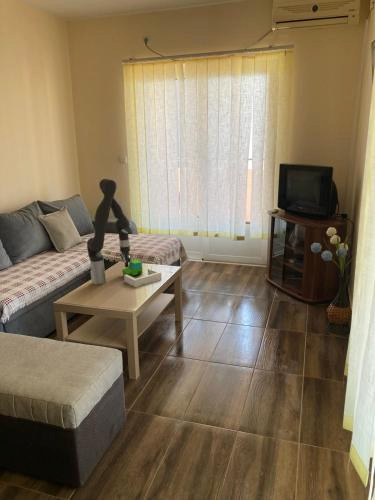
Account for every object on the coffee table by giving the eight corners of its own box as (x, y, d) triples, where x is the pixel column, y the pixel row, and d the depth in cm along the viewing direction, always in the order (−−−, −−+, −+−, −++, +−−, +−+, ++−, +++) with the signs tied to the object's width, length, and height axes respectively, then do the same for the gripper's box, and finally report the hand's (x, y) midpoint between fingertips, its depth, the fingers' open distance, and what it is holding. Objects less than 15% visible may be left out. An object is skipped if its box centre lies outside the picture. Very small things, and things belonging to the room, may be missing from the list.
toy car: (121, 275, 301) (120, 262, 298) (137, 271, 307) (136, 259, 305) (126, 278, 293) (125, 265, 290) (143, 275, 299) (142, 262, 296)
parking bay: (135, 287, 275) (134, 280, 274) (124, 281, 286) (124, 275, 285) (161, 279, 288) (161, 272, 286) (150, 274, 299) (149, 268, 298)
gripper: (115, 244, 301) (118, 266, 306) (124, 247, 291) (127, 270, 296) (124, 242, 306) (126, 264, 311) (133, 245, 296) (135, 267, 301)
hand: (126, 267), depth 303 cm, fingers closed
